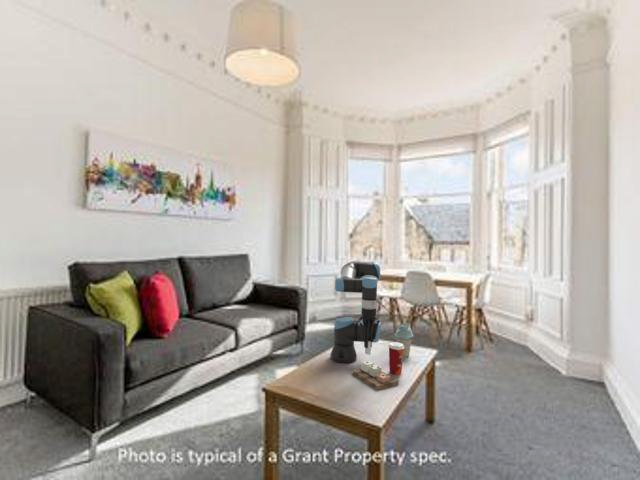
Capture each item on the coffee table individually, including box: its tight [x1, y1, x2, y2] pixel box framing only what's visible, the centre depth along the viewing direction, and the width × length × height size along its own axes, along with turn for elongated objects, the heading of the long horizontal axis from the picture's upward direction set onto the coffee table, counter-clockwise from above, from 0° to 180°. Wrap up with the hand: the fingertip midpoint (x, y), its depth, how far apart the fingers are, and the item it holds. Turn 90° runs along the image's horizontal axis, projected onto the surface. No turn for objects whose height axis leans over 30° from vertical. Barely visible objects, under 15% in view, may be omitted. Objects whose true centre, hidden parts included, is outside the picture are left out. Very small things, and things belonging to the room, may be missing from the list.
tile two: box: [368, 364, 382, 378], centre depth 174 cm, size 4×4×4 cm
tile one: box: [360, 360, 375, 374], centre depth 180 cm, size 4×4×4 cm
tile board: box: [352, 368, 400, 391], centre depth 174 cm, size 20×13×2 cm, turn 30°
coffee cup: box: [388, 341, 404, 376], centre depth 183 cm, size 8×8×15 cm
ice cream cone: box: [394, 322, 414, 358], centre depth 210 cm, size 10×11×20 cm
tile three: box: [376, 372, 391, 383], centre depth 169 cm, size 4×4×4 cm
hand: (367, 353), depth 179 cm, fingers closed
